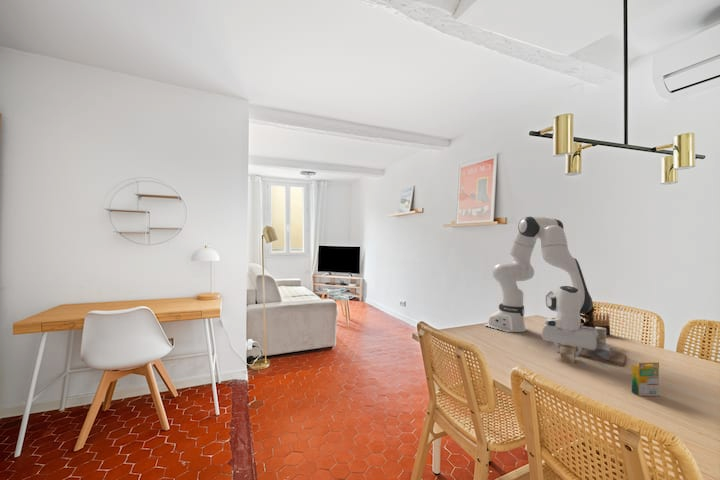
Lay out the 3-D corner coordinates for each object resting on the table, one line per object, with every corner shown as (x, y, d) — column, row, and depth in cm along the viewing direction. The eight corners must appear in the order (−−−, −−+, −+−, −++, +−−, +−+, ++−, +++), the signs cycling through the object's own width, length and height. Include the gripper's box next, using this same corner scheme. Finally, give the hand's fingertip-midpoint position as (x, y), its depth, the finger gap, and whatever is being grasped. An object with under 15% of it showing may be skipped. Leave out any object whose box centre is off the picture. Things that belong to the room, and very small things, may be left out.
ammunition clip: (588, 333, 176) (588, 312, 176) (586, 332, 178) (587, 311, 178) (610, 335, 174) (610, 313, 173) (608, 334, 175) (608, 313, 175)
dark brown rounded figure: (608, 345, 158) (609, 305, 158) (578, 344, 158) (579, 305, 158) (587, 335, 173) (588, 299, 172) (560, 335, 173) (561, 299, 173)
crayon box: (650, 391, 111) (651, 359, 110) (659, 396, 108) (659, 362, 107) (630, 392, 110) (631, 359, 110) (638, 396, 107) (639, 362, 107)
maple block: (560, 359, 139) (560, 346, 139) (562, 356, 143) (562, 343, 142) (573, 362, 136) (574, 349, 135) (575, 359, 139) (575, 346, 139)
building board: (563, 352, 147) (563, 329, 147) (568, 344, 159) (568, 322, 159) (624, 365, 133) (624, 339, 132) (625, 355, 145) (625, 331, 144)
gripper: (598, 326, 134) (597, 358, 135) (544, 318, 148) (543, 347, 148) (597, 329, 130) (596, 362, 130) (541, 320, 143) (540, 350, 143)
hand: (567, 354), depth 139 cm, fingers closed on maple block, 5 cm apart
